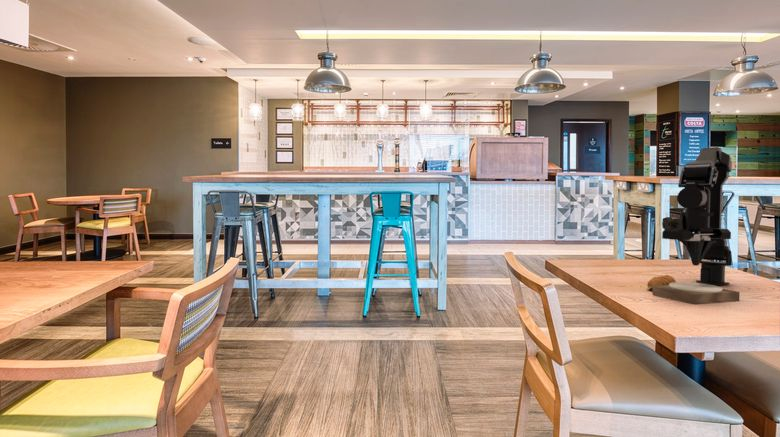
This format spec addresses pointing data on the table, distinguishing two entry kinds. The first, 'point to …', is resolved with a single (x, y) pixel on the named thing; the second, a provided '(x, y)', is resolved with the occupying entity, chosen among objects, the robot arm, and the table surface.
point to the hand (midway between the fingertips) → (695, 265)
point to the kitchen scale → (695, 293)
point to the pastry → (660, 281)
